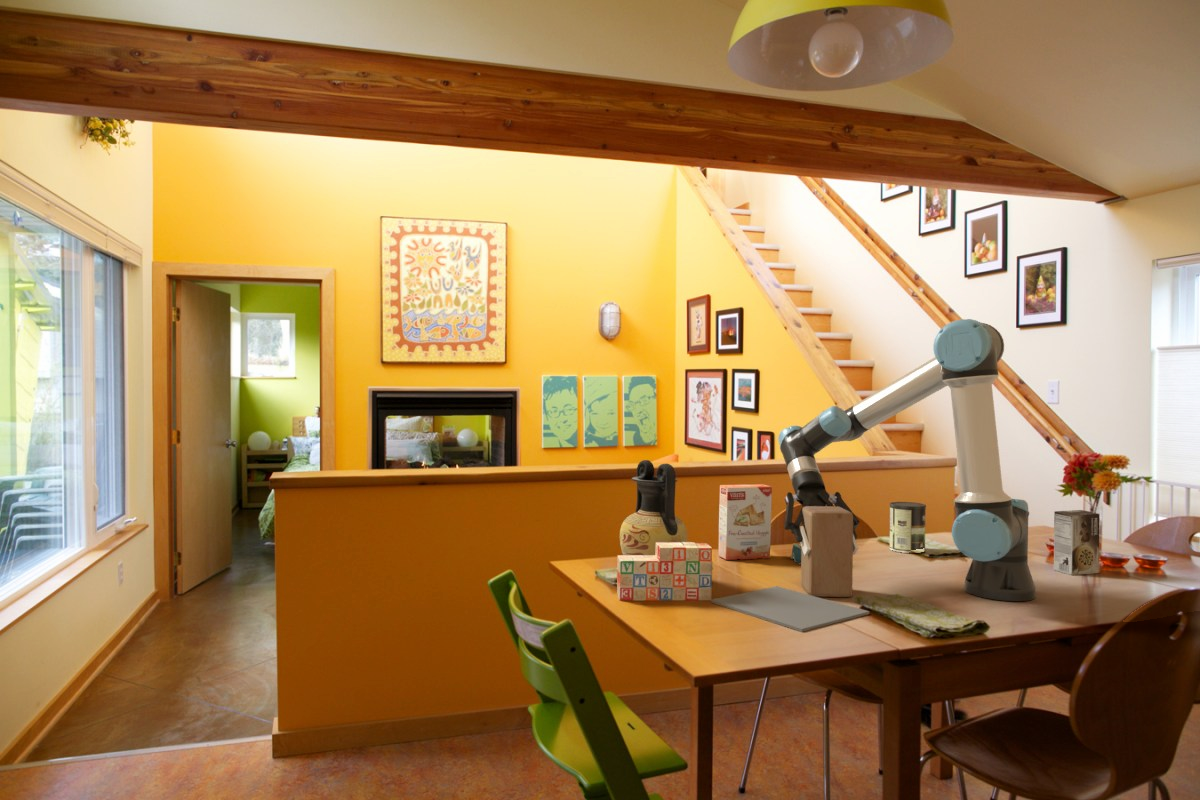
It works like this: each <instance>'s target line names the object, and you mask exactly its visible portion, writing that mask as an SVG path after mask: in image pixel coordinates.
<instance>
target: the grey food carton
mask: <svg viewBox="0 0 1200 800" xmlns="http://www.w3.org/2000/svg"><path fill="white" fill-rule="evenodd" d="M1053 513H1054V520H1053V521H1054V523H1053V524H1054V525H1053V528H1054V529H1053V530H1054V531H1053V532H1054V533H1053V535H1054V536H1053V547H1054V548H1053V570H1054V571H1057V572H1060V573H1063V574H1067V575H1069V576H1078V575H1079V576H1080V575H1090V574H1091V575H1092V574H1099V573H1100V517H1101V516H1100V513H1098V512H1092V511H1088V510H1084V509H1083V510H1082V509H1078V510H1075V509H1073V510H1061V511H1060V510H1059V511H1056V510H1055V511H1054V512H1053Z"/></svg>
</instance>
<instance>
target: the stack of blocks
mask: <svg viewBox="0 0 1200 800" xmlns="http://www.w3.org/2000/svg"><path fill="white" fill-rule="evenodd" d="M616 566H617V570H616V574H617V575H616V581H617V582H616V592H617V596H618V599H619V601H711V600H712V583H713V581H712V579H713V548H712V546H711V545H710V544H709V543H707V542H694V541H687V542H681V543H680V542H677V543H656V548H655V555H644V556H643V555H623V554H621V555H619V554H618V555H617V565H616Z"/></svg>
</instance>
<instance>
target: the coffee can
mask: <svg viewBox="0 0 1200 800" xmlns="http://www.w3.org/2000/svg"><path fill="white" fill-rule="evenodd" d="M926 508H927V505H926V504H925V503H920V502H914V501H913V502H912V501H911V502H910V501H893V502H889V548H888V549H889V550H890V551H892V550H893V551H892V552H895V551H896V552H895V553H900V552H902V553H901V554H909V552H911V550H916V549H923V548H925V549H926V510H927V509H926Z"/></svg>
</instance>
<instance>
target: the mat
mask: <svg viewBox="0 0 1200 800" xmlns="http://www.w3.org/2000/svg"><path fill="white" fill-rule="evenodd" d="M710 603H712V604H715V605H718V606H720V607H724V608H727V609H730V610H733V611H736V612H739V613H742V614H746V615H748V616H752V617H754V618H757V619H760V620H764V621H766V620H767V622H770V623H773V624H776V625H779V626H783V627H785V626H786V627H785V628H788V627H789V629H791V628H792V629H791V630H794V629H795V631H798V632H801V633H802V632H803V633H804V632H806V631H807V632H808V631H811V630H815V629H818V628H822V627H826V626H829V625H833V624H837V623H840V622H845V621H849V620H851V619H856V618H860V617H864V616H868V615H870V611H869V610H866V609H862V608H859V607H855V606H850V605H847V604H843V603H840V602H838V601H837V602H836V601H832V600H830V599H829V600H828V599H825V598H823V597H815V596H811V595H810V594H809V593H808V594H807V593H805V592H804V593H803V592H799V591H797V590H792V589H788V588H785V587H782V586H779V585H775V586H772V587H766V588H763V589H762V588H761V589H756V590H752V591H747V592H742V593H737V594H733V595H728V596H727V595H726V596H722V597H719V598H711V600H710Z"/></svg>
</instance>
